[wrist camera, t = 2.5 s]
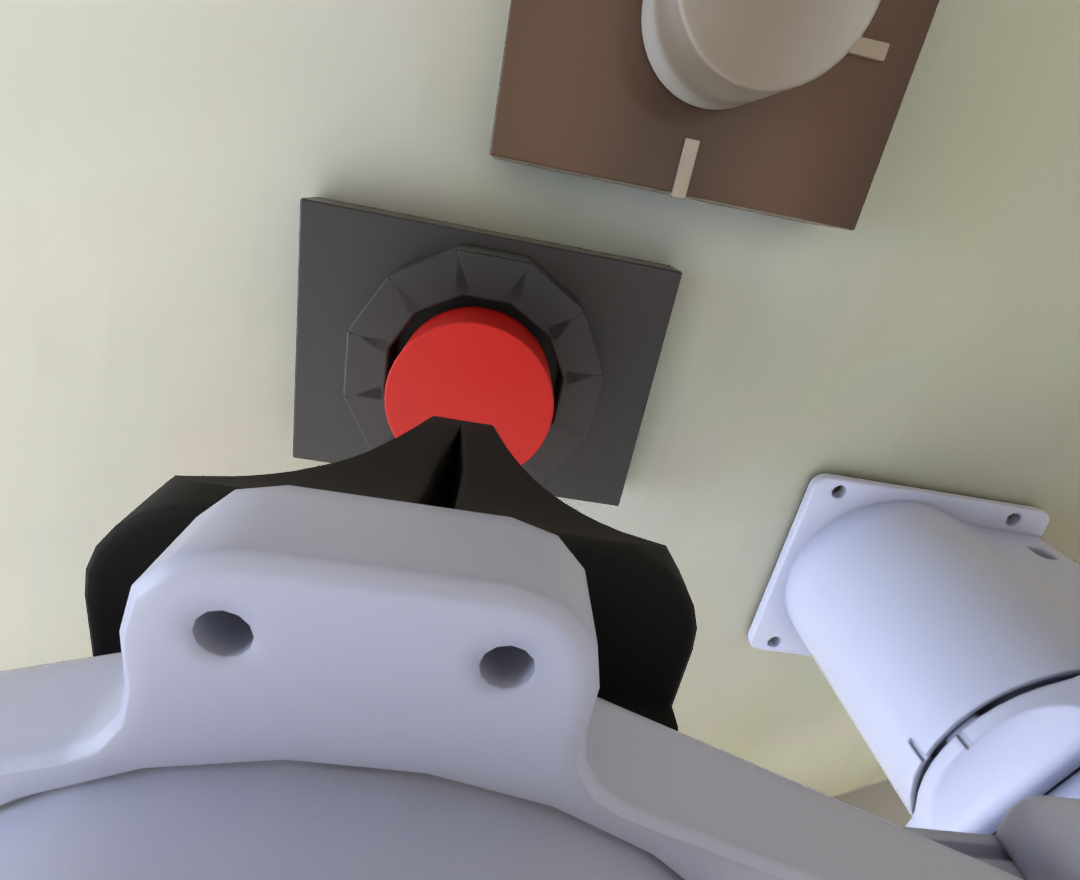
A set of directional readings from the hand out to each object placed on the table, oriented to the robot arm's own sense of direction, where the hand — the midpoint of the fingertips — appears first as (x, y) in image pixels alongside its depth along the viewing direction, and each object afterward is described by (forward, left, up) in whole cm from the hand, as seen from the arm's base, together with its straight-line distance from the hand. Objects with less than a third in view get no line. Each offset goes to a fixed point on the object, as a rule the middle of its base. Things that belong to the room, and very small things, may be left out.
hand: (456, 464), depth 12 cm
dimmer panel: (-5, -10, -8) cm, 14 cm away
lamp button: (0, 0, -6) cm, 6 cm away
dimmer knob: (-4, -10, -6) cm, 12 cm away
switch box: (0, 0, -8) cm, 8 cm away
